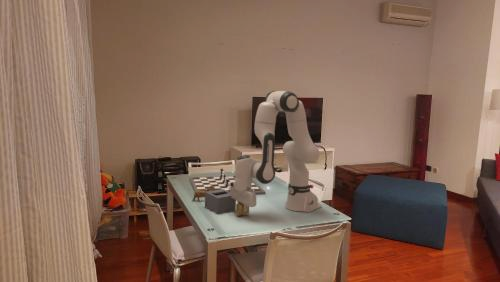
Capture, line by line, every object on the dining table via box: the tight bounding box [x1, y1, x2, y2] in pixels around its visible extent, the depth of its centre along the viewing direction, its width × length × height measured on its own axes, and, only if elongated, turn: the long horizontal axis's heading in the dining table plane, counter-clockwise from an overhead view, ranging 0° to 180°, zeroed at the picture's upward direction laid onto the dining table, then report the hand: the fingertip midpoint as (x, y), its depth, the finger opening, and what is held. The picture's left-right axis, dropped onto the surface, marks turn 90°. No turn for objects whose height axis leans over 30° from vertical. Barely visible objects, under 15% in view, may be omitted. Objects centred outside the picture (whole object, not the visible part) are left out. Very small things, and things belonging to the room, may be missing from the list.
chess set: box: [189, 168, 266, 199], centre depth 254 cm, size 45×45×11 cm
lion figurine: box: [191, 186, 215, 203], centre depth 220 cm, size 15×5×9 cm, turn 117°
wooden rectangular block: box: [235, 203, 250, 217], centre depth 197 cm, size 7×2×6 cm, turn 126°
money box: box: [204, 189, 237, 215], centre depth 207 cm, size 12×14×9 cm
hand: (242, 210), depth 197 cm, fingers closed on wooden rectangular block, 2 cm apart
